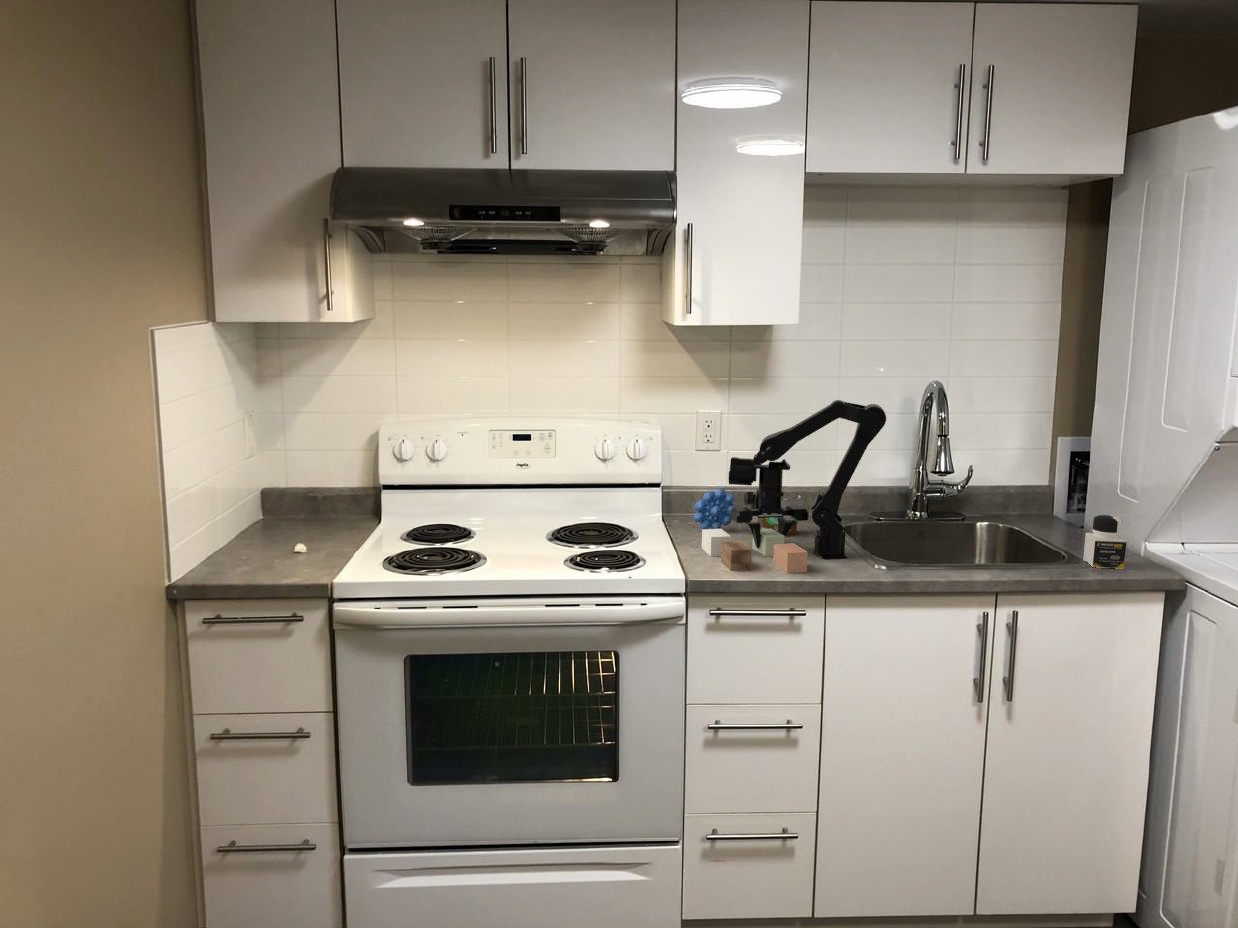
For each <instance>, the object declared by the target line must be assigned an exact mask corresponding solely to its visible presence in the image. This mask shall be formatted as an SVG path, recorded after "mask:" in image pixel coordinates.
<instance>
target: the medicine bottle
mask: <svg viewBox="0 0 1238 928" xmlns="http://www.w3.org/2000/svg"><path fill="white" fill-rule="evenodd" d="M1092 522H1093V523H1092V531H1091V532H1086V533H1085V538H1084V549H1083V561H1084V562H1085V561H1087V562H1088V563H1089V564H1090V565H1091V566H1092V567H1096V568H1095V569H1101V568H1115V569H1114V570H1124V569H1125V561H1126V553H1127V552H1126V551H1127V540H1126V539H1124V538H1123V537H1122V536H1120V535H1121V534H1122V533H1121V531H1122V530H1121V529H1122V523H1123V522H1122V519H1121V518H1119V517H1117V516H1114V515H1107V514H1100V515H1097V516H1094V517H1093V521H1092ZM1089 564H1088V565H1089ZM1090 565H1089V566H1090ZM1091 566H1090V567H1091ZM1092 567H1091V568H1092Z"/></svg>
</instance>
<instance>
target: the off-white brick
mask: <svg viewBox="0 0 1238 928" xmlns="http://www.w3.org/2000/svg"><path fill="white" fill-rule="evenodd" d="M731 538H732V536H731V535H730V534H729V533H728V532H726V531H725V530H724V529H722V528H721V529H711V528H709V529H702V530H701V549H702V550H703V551H704V552H705V553H707V555H708V556H710V557H721V542H732V539H731Z"/></svg>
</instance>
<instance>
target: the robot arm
mask: <svg viewBox="0 0 1238 928" xmlns="http://www.w3.org/2000/svg"><path fill="white" fill-rule="evenodd" d="M837 419H843V420H846V421H848V422H853V423H857V424H856V429H855V433H854V436H853V438H852V440H851V442H850V444H849V446H848V448H847V450H846V452H845V454H844V456H843V458H842V460H841V461H840V464H839V465H838V468H837V469H836V472H835V473H834V476H833V477H832V479H831V482H830V483H829V485H828V487H826V489H825V490H824V491H822V490H821V489H818V491H817V494H816V497H815V499H814V500H813V501H811V506H810V507H811V508H810V509H811V518H812V521H813V523H814V524H815V525H816V526H818V527H819V529H816V535H815V536H814V545H813V546H814V549H813V554H815V555H816V556H819V557H820V558H821V559H842V558H845V559H846V558H848V555H847V554H846V553H845V551H846V550H845V549H846V548H845V547H846V530H845V524H844V523H845V522H844V519H843V518H842V517H841V515H839V514H838V512H839V508H840V505H841V501H842V496H843V494H844V493H845V490H846V488H847V487H848V485H849V483H850V481H851V479H852V476H853V475H854V473H855V471H856V469H857V467H858V466H859V463H860V461H861V460H862V457H863V455H864V453H865V452H866V450H867V448H868V446H869V445H870V443H871V442H872V441H873V440H874V439H875V438H876V437H877V435H878V434H879V432H881V431H882V429H883V428H884V426H885V424H886V422H887V415H886V412H885V410H884V408H882V406H880V405H879V404H876V403H871V404H867V405H862V404H859V403H854V402H848V401H843V400H841V399H835V400H833V401H832V402H831V403H830V404H829V405H827V406H825V407H823V408H822V409H820V410H818V411H816V412H814V413H813V414H812V415H810V416H808V417H806V418H805V419H803V420H801V421H800V422H798V423H795V425H793V426H791V427H789V428H786V429H783V430H779V431H776V432H774V433H771V434H769V435H768V434H767V436H765V437H764V438H763V439H762V440H761V443H760V446H759V450H758V451H757V453H755V454H754V456H753V457H752V458H746V457H744V458H743V457H735V456H734V457H733V456H732V457H731V458H730V465H729V471H728V484H729V485H734V486H736V485H737V486H752V485H753V483H756V482H757V479H758V488H757V489H756V494H755V493H754V491H745V492H744V495H743V501H744V502H743V503H744V505H745V506H741V507H738V506H737V507H733V508H732V510H731V512H730V518H731V519H732V521H733V522H734V523H738V524H746V525H747V526H748V527H749V529H750V531H751V535H752V539H753V538H754V541H755V545H756V547H757V548H759V546H760V529H761V528H762V523H760V522H759V519H761V518H771V517H778V533H780V534H782V535H784V536H785V537H787V536H786V534H787V533H788V531H789V530H790V528H791V527H792V525H793V524H796V521H794V518H795V519H796V520H797V521H798V522H801V521H809V515H810V513H809V510H807V508H805V507H803V505H802V506H800V505H791V506H787V507H786V509H784V510H783V508H781V502H782V498H783V497H784V492H783V473H784V471H790V470H791V464H789V463H788V462H787V459H785V458H783V459H782V460H781V461H778V460H779V459H781V457H783V456H784V455H785V454H786V453H787V452H788V451H790V450H791V449H792V448H793V446H795V445H796V444H797V443H798V442H800V441H802V440H803V439H805V438H807V437H809V436H811V435H812V434H813V433H815V432H816V431H817V432H818V431H819V430H820V429H822V428H824V427H826V426H827V425H830V423H833V422H834V421H836V420H837ZM767 461H768V464H764V463H766V462H767ZM758 470H759V471H758ZM758 473H759V475H758ZM750 505H751V509H750V508H748V507H747V506H750ZM773 513H774V514H773ZM775 513H777V514H775Z"/></svg>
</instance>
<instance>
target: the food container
mask: <svg viewBox="0 0 1238 928" xmlns="http://www.w3.org/2000/svg"><path fill="white" fill-rule="evenodd" d="M791 505H800V506H802V507H803V500H802V497H801V495H797V497H795V498H786V497H785V498H784V497H782V502H781V508H783V510H784V509H786V507H787V506H791ZM773 514H774V513H773ZM775 514H777V513H775ZM760 519H761V529H773V530H775V531H777V532H778V517H771V518H760ZM794 521H796V524H793V525H792V527H791V528H790V530H789V531H788V533H787V534H786V536H785V537H791V536H790V535H792V536H794V534H795V535H796V534H797V528H798V522H799V521H797V520H796V519H795V518H794Z"/></svg>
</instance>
